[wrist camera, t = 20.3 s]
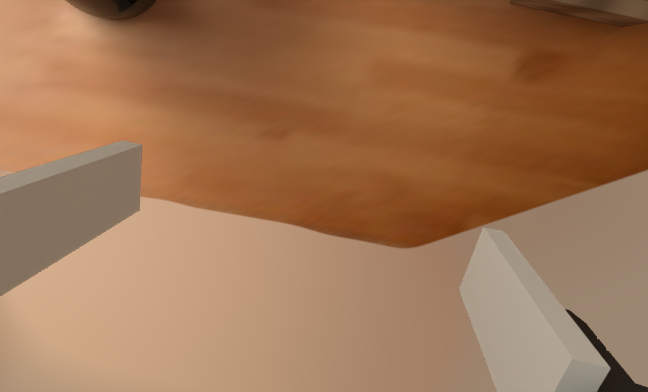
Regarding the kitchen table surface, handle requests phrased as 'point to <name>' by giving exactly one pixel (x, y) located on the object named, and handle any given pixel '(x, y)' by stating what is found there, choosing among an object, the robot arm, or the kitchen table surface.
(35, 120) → the kitchen table surface
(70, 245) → the robot arm
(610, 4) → the wooden bookend
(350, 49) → the kitchen table surface
